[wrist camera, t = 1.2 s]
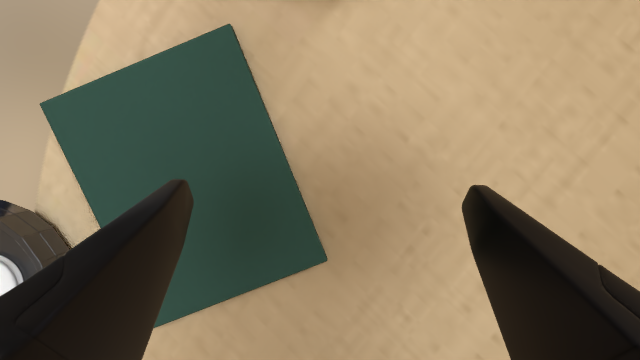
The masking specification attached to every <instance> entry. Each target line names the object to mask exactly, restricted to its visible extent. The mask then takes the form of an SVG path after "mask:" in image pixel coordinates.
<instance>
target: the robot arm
mask: <svg viewBox="0 0 640 360" xmlns="http://www.w3.org/2000/svg"><path fill="white" fill-rule="evenodd" d="M193 204H194V199H193V196H192V193H191V190H190V187H189V184H188V182H187V181H186V180H185V179H172V180H170V181H168V182H167V183H166V184H164V185H163V186H161V187H160V188H158V189H157V190H155V191H154V192H153V193H151V194H150V195H148V196H147V197H145V198H144V199H143V200H141V201H140V202H138V203H137V204H135V205H134V206H133V207H131V208H130V209H128V210H127V211H125V212H124V213H122V214H121V215H120V216H118V217H117V218H115V219H114V220H112V221H111V222H110V223H108V224H107V225H105V226H104V227H102V228H101V229H99V230H98V231H97V232H95V233H94V234H92V235H91V236H89V237H88V238H87V239H85V240H84V241H82V242H81V243H79V244H78V245H76V246H75V247H74V248H72V249H71V250H69V251H68V252H66V253H65V256H64V255H62V256H61V257H59V258H58V259H56V260H55V261H53V262H52V263H50V264H49V265H48V266H46V267H45V268H43V269H42V270H40V271H39V272H37V273H36V274H34V275H33V276H31V277H30V278H28V279H27V280H25V281H24V282H22V283H20V284H19V285H17V286H16V287H14V288H13V289H11V290H9V291H8V292H6V293H5V294H3V295H1V296H0V360H142V358H143V355H144V352H145V349H146V347H147V344H148V341H149V339H150V336H151V333H152V330H153V328H154V325H155V322H156V320H157V317H158V314H159V312H160V309H161V306H162V303H163V301H164V298H165V295H166V293H167V290H168V287H169V285H170V282H171V279H172V276H173V274H174V271H175V268H176V266H177V263H178V260H179V258H180V255H181V252H182V249H183V246H184V242H185V238H186V234H187V230H188V226H189V221H190V217H191V213H192V209H193ZM462 212H463V216H464V221H465V225H466V229H467V233H468V238H469V242H470V246H471V250H472V253H473V256H474V259H475V262H476V265H477V267H478V270H479V273H480V276H481V278H482V281H483V284H484V287H485V289H486V292H487V295H488V298H489V300H490V303H491V306H492V309H493V311H494V314H495V317H496V320H497V322H498V325H499V328H500V331H501V334H502V336H503V339H504V342H505V345H506V347H507V350H508V353H509V356H510V358H511V360H640V291H638V290H637V289H635V288H634V287H632V286H631V285H629V284H628V283H626V282H625V281H623V280H622V279H620V278H619V277H617V276H616V275H614V274H613V273H612V272H610V271H609V270H607V269H606V268H604V267H603V266H601V265H598V263H597V262H596V261H594V260H593V259H591V258H590V257H588V256H587V255H586V254H584V253H583V252H581V251H580V250H578V249H577V248H575V247H574V246H573V245H571V244H570V243H568V242H567V241H565V240H564V239H562V238H561V237H560V236H558V235H557V234H555V233H554V232H552V231H551V230H549V229H548V228H547V227H545V226H544V225H542V224H541V223H539V222H538V221H536V220H535V219H534V218H532V217H531V216H529V215H528V214H526V213H525V212H524V211H522V210H521V209H519V208H518V207H516V206H515V205H513V204H512V203H511V202H509V201H508V200H506V199H505V198H503V197H502V196H500V195H499V194H498V193H496V192H495V191H493V190H492V189H490V188H489V187H487V186H485V185H473V186H471V187H470V188H469V190H468V193H467V195H466V197H465V199H464V201H463V203H462Z"/></svg>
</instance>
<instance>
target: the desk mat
mask: <svg viewBox="0 0 640 360" xmlns="http://www.w3.org/2000/svg"><path fill="white" fill-rule="evenodd" d="M40 106H41V108H42V110H43V112H44V114H45V116H46V118H47V120H48V122H49V124H50V126H51V128H52V130H53V132H54V134H55V136H56V138H57V140H58V142H59V144H60V146H61V148H62V150H63V152H64V155H65V157H66V159H67V161H68V163H69V165H70V167H71V169H72V171H73V173H74V175H75V177H76V179H77V181H78V183H79V185H80V187H81V189H82V191H83V193H84V195H85V197H86V199H87V201H88V203H89V205H90V207H91V209H92V211H93V213H94V215H95V217H96V219H97V221H98V223H99V226H100V228H102V227H104V226H105V225H107V224H108V223H110V222H111V221H112V220H114V219H115V218H117V217H118V216H120V215H121V214H122V213H124V212H125V211H127V210H128V209H130V208H131V207H133V206H134V205H135V204H137V203H138V202H140V201H141V200H143V199H144V198H145V197H147V196H148V195H150V194H151V193H153V192H154V191H155V190H157V189H158V188H160V187H161V186H163V185H164V184H166V183H167V182H168V181H170V180H172V179H185V180H186V181H187V182H188V184H189V187H190V190H191V193H192V196H193V199H194V204H193V209H192V213H191V217H190V221H189V226H188V230H187V234H186V238H185V242H184V246H183V249H182V252H181V255H180V258H179V260H178V263H177V266H176V268H175V271H174V274H173V276H172V279H171V282H170V285H169V287H168V290H167V293H166V295H165V298H164V301H163V303H162V306H161V309H160V312H159V314H158V317H157V320H156V322H155V325H154V328H155V327H158V326H161V325H163V324H166V323H168V322H171V321H173V320H176V319H179V318H181V317H184V316H186V315H189V314H192V313H194V312H197V311H199V310H202V309H204V308H207V307H210V306H212V305H215V304H217V303H220V302H222V301H225V300H228V299H230V298H233V297H235V296H238V295H241V294H243V293H246V292H248V291H251V290H253V289H256V288H259V287H261V286H264V285H266V284H269V283H271V282H274V281H277V280H279V279H282V278H284V277H287V276H289V275H292V274H295V273H297V272H300V271H302V270H305V269H308V268H310V267H313V266H315V265H318V264H320V263H323V262H326V261H327V256H326V254H325V251H324V249H323V247H322V244H321V242H320V239H319V237H318V234H317V232H316V230H315V227H314V225H313V222H312V220H311V217H310V215H309V213H308V210H307V208H306V205H305V203H304V200H303V198H302V196H301V193H300V191H299V188H298V186H297V183H296V181H295V179H294V176H293V174H292V171H291V169H290V166H289V164H288V161H287V159H286V157H285V154H284V152H283V149H282V147H281V144H280V142H279V140H278V137H277V135H276V132H275V130H274V127H273V125H272V123H271V120H270V118H269V115H268V113H267V110H266V108H265V106H264V103H263V101H262V98H261V96H260V93H259V91H258V89H257V86H256V84H255V81H254V79H253V76H252V74H251V71H250V69H249V67H248V64H247V62H246V59H245V57H244V54H243V52H242V50H241V47H240V45H239V42H238V40H237V37H236V35H235V33H234V30H233V28H232V26H231V25H230V24H227V25H225V26H223V27H220V28H218V29H216V30H213V31H211V32H208V33H206V34H204V35H201V36H199V37H197V38H194V39H192V40H189V41H187V42H185V43H182V44H180V45H178V46H175V47H173V48H170V49H168V50H166V51H163V52H161V53H159V54H156V55H154V56H151V57H149V58H147V59H144V60H142V61H140V62H137V63H135V64H132V65H130V66H128V67H125V68H123V69H121V70H118V71H116V72H113V73H111V74H109V75H106V76H104V77H102V78H99V79H97V80H94V81H92V82H90V83H87V84H85V85H83V86H80V87H78V88H75V89H73V90H71V91H68V92H66V93H64V94H61V95H59V96H57V97H54V98H52V99H49V100H47V101H45V102H42V103H40Z"/></svg>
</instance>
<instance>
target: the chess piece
mask: <svg viewBox="0 0 640 360" xmlns="http://www.w3.org/2000/svg"><path fill="white" fill-rule="evenodd" d="M22 282H24V281H23V277H22V274H21V272H20V270H19V269H18V267H17V266H16V265H15V264H14V263H13V262H12V261H10V260H9V259H7V258H6V257H4V256H1V255H0V296H1V295H3V294H5V293H6V292H8V291H9V290H11V289H13V288H14V287H16V286H17V285H19V284H20V283H22Z"/></svg>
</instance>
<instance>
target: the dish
mask: <svg viewBox="0 0 640 360" xmlns="http://www.w3.org/2000/svg"><path fill="white" fill-rule="evenodd" d="M69 250H70V249H69V248H68V247H67V245H66V244H65V242H64V241H63V240H62V238H61V237H60V236H59V234H58V233H57V232H56V230H55V229H54V228H53V227H52V226H51V225H49V224H48V223H47V222H45V221H44V220H43V219H42V218H40V217H39V216H38V215H36V214H35V213H34V212H32V211H30V210H28V209H25V208H23V207H20V206H17V205H15V204H12V203H9V202H6V201H3V200H0V255H1V256H4V257H6V258H7V259H9V260H10V261H12V262H13V263H14V264H15V265H16V266H17V267H18V269H19V270H20V272H21V274H22V277H23V281H25V280H27V279H28V278H30V277H31V276H33V275H34V274H36V273H37V272H39V271H40V270H42V269H43V268H45V267H46V266H48V265H49V264H50V263H52V262H53V261H55V260H56V259H58V258H59V257H61V256H62V255H64V256H65V253H66V252H68V251H69Z"/></svg>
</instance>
